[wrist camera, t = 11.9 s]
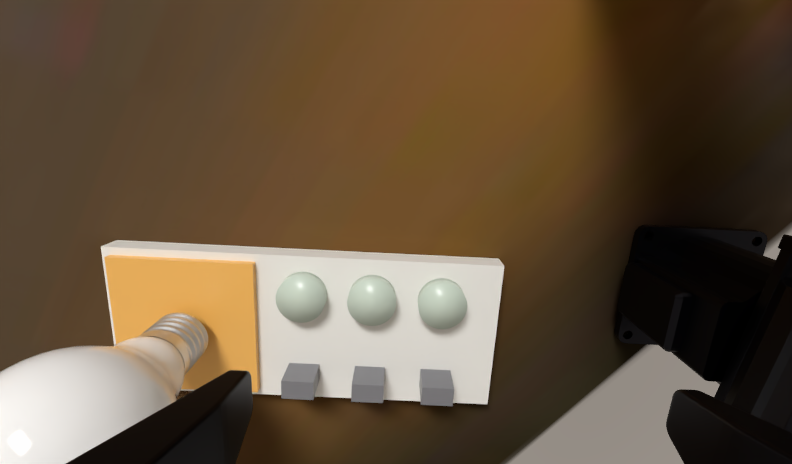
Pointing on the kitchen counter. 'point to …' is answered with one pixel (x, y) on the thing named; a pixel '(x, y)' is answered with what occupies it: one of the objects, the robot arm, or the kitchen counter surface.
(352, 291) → the control panel
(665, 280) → the robot arm
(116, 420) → the lightbulb
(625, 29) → the kitchen counter surface
